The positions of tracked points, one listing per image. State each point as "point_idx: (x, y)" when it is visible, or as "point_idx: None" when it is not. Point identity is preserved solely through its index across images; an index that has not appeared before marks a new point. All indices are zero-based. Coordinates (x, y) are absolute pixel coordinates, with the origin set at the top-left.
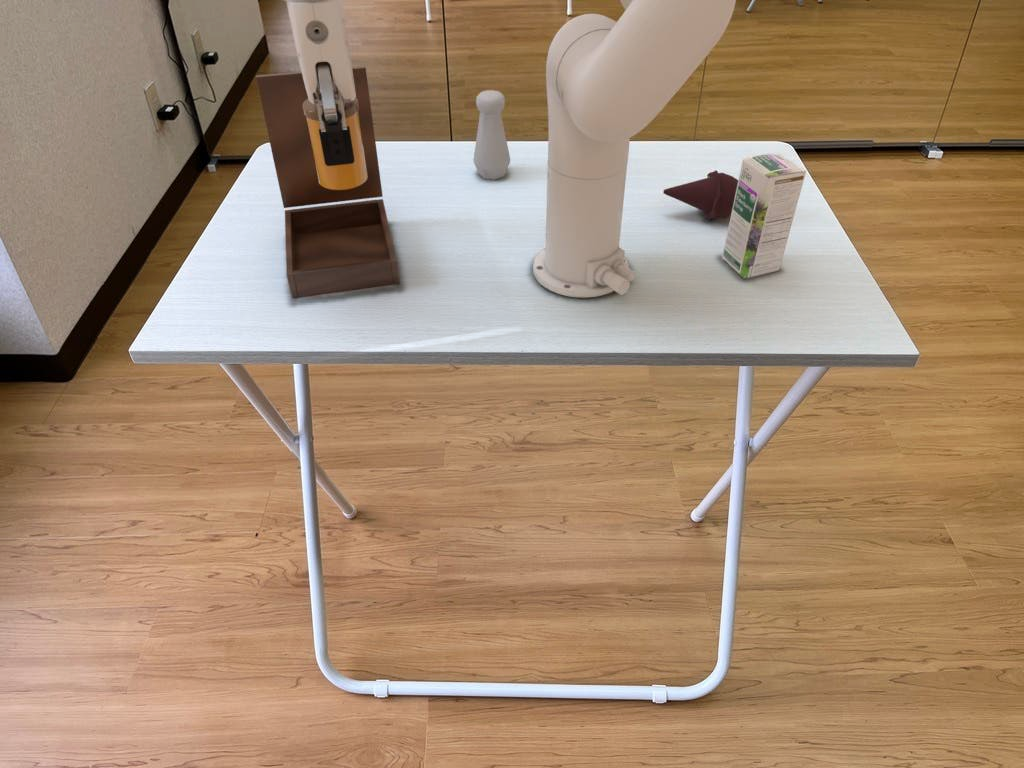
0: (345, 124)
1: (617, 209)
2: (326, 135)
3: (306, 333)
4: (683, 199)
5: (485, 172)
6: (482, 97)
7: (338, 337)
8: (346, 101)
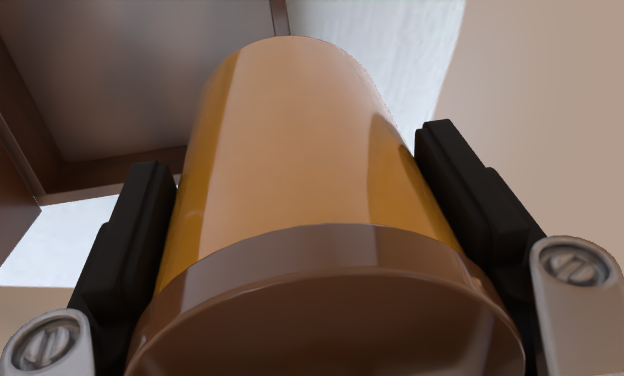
0: (618, 272)
1: None
2: None
3: (398, 97)
4: None
5: None
6: None
7: (424, 39)
8: (332, 340)
